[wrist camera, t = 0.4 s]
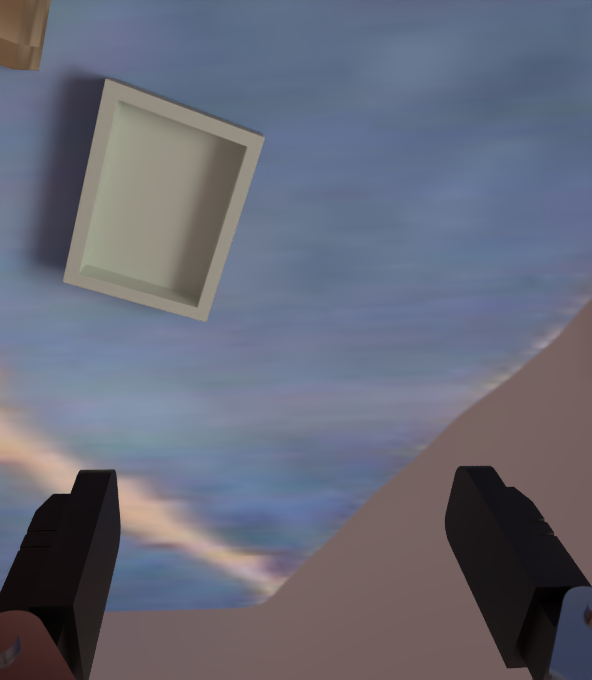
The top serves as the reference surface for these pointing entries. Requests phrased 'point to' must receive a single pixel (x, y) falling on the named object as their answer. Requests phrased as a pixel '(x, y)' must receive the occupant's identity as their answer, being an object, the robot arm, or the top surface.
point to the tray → (160, 201)
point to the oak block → (22, 32)
